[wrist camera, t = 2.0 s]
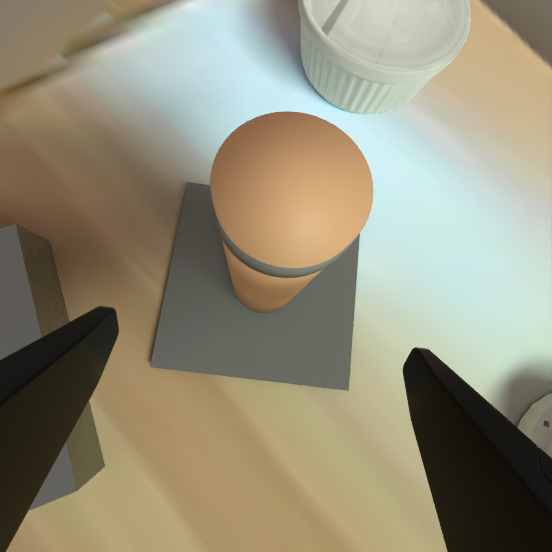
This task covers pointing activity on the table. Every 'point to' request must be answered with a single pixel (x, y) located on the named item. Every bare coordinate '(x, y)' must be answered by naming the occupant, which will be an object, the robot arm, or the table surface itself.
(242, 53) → the table surface
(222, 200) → the peg
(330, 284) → the mat
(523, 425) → the mechanical component
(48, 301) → the flange plate
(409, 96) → the ramekin
